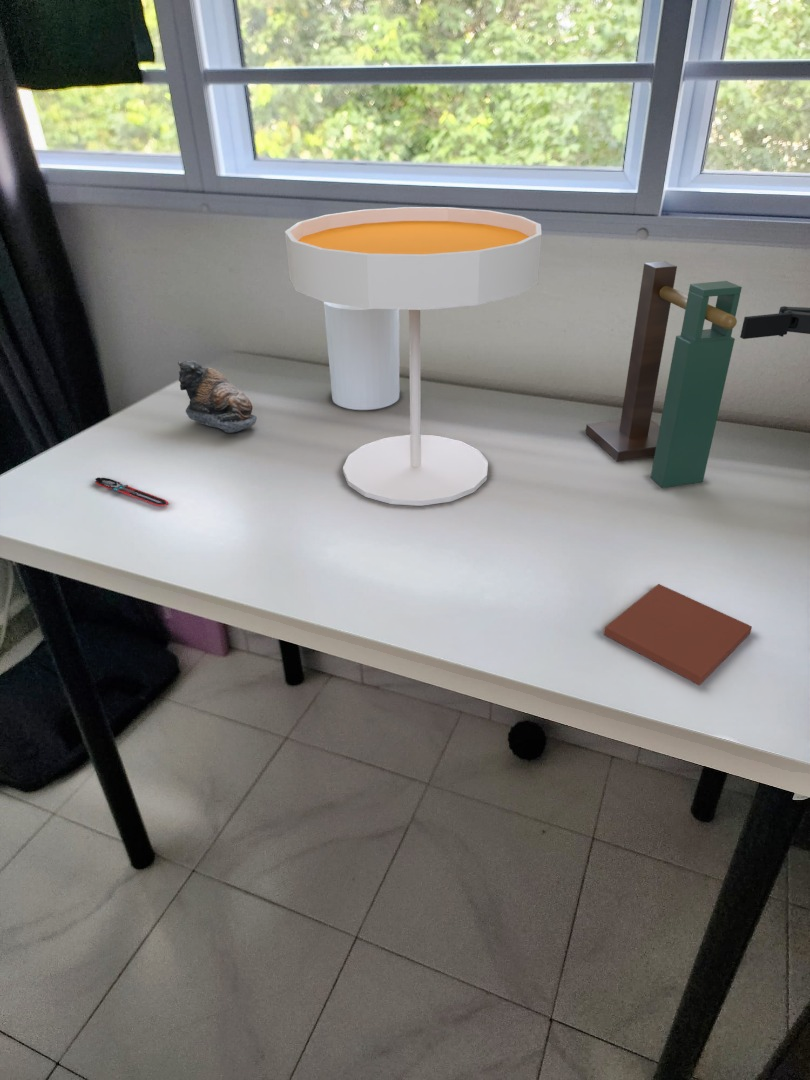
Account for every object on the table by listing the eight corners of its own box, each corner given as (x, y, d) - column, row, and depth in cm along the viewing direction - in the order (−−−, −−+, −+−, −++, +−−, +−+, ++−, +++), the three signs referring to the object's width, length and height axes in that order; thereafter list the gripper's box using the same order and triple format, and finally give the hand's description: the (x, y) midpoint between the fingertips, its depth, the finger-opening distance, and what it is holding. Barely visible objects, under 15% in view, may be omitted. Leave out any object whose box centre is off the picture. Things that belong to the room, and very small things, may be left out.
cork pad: (750, 634, 73) (752, 626, 72) (699, 685, 67) (701, 677, 66) (657, 591, 79) (658, 583, 78) (603, 634, 73) (604, 626, 72)
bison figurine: (265, 424, 117) (257, 362, 111) (239, 442, 111) (229, 378, 106) (203, 413, 121) (192, 352, 116) (174, 430, 116) (162, 367, 110)
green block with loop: (703, 482, 99) (746, 286, 85) (662, 488, 98) (699, 290, 84) (690, 472, 101) (731, 280, 88) (650, 477, 100) (685, 284, 86)
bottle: (396, 411, 120) (392, 248, 107) (323, 409, 122) (311, 247, 108) (405, 385, 130) (402, 232, 117) (338, 383, 132) (328, 231, 118)
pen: (162, 510, 95) (161, 506, 94) (90, 483, 101) (89, 479, 101) (174, 504, 96) (173, 499, 96) (102, 478, 102) (101, 473, 102)
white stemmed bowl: (568, 491, 97) (598, 236, 80) (358, 548, 86) (342, 268, 70) (456, 412, 120) (461, 200, 103) (279, 450, 109) (252, 220, 92)
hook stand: (730, 490, 97) (778, 293, 83) (660, 501, 95) (698, 300, 81) (645, 425, 114) (674, 253, 101) (585, 432, 112) (606, 258, 99)
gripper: (996, 390, 88) (842, 410, 84) (843, 329, 108) (712, 343, 104) (1023, 327, 84) (862, 345, 80) (859, 275, 104) (724, 287, 100)
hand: (777, 344), depth 92 cm, fingers open, 13 cm apart
